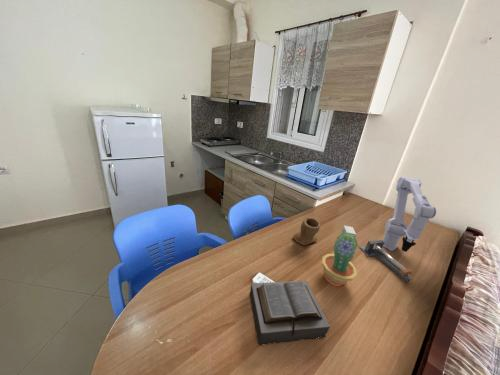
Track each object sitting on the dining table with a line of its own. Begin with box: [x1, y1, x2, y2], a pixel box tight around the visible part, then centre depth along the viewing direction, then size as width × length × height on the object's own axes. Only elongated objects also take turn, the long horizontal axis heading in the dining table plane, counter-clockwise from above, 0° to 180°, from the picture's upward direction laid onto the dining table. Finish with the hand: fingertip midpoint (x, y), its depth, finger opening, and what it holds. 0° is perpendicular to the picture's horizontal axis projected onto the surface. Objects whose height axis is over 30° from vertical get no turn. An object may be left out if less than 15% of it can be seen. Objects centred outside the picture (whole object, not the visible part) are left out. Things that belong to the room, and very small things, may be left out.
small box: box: [339, 225, 357, 238], centre depth 119 cm, size 8×6×10 cm
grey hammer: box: [358, 239, 412, 284], centre depth 109 cm, size 12×26×7 cm, turn 14°
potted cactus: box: [321, 232, 359, 287], centre depth 90 cm, size 15×15×25 cm
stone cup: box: [292, 217, 321, 246], centre depth 117 cm, size 15×12×15 cm
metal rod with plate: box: [375, 245, 414, 276], centre depth 107 cm, size 6×20×3 cm, turn 15°
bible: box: [249, 280, 331, 346], centre depth 73 cm, size 23×27×10 cm
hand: (405, 247), depth 108 cm, fingers open, 7 cm apart
